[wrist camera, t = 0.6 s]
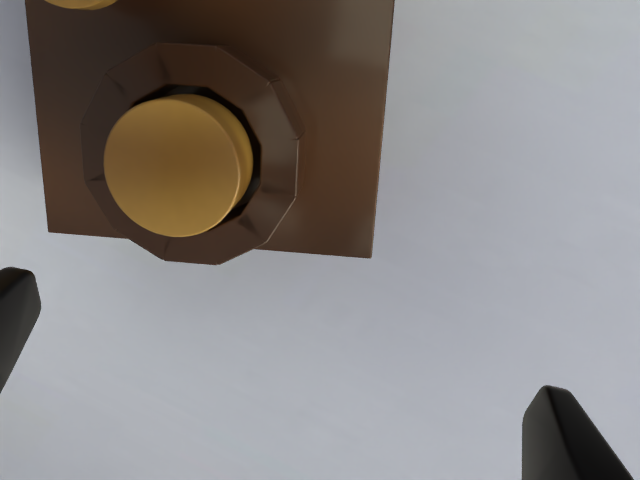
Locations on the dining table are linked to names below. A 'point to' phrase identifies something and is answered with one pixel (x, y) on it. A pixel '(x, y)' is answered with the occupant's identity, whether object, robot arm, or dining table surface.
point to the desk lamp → (82, 4)
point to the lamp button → (178, 164)
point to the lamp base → (236, 95)
